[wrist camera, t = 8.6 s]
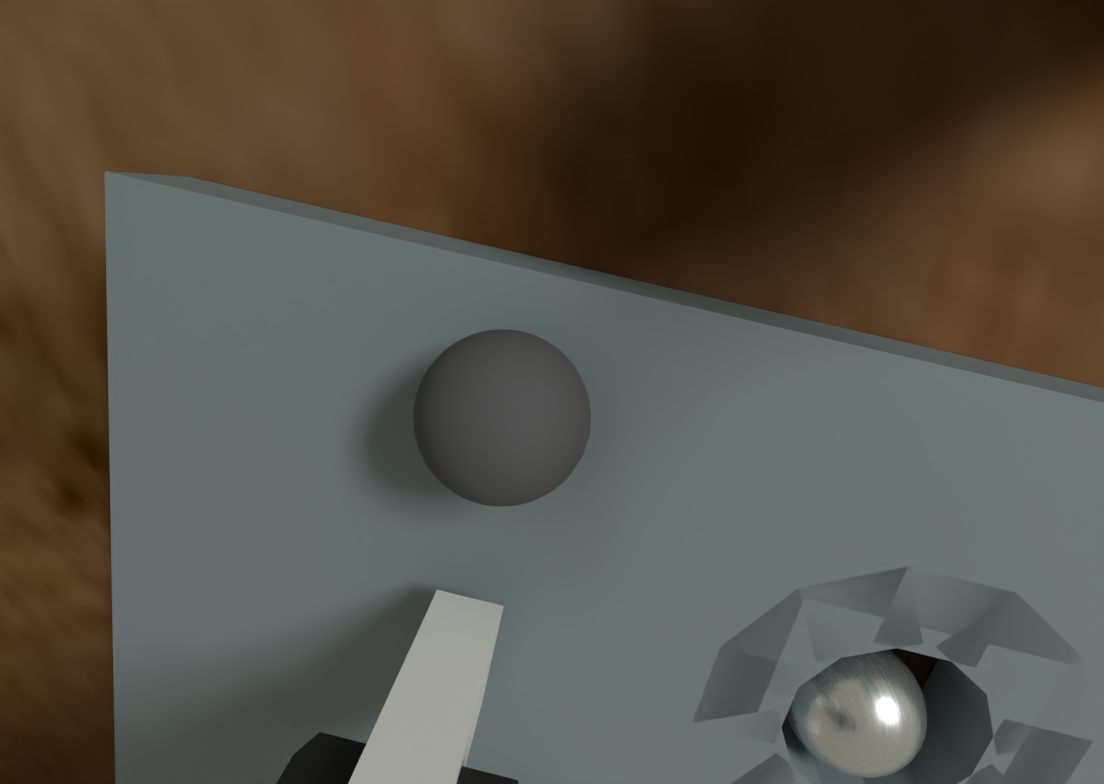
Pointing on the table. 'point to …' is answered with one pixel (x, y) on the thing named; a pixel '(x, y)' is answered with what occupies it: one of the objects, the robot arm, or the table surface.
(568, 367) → the matte dark gray ball
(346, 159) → the table surface
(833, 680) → the steel ball
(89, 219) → the table surface
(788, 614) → the plate
